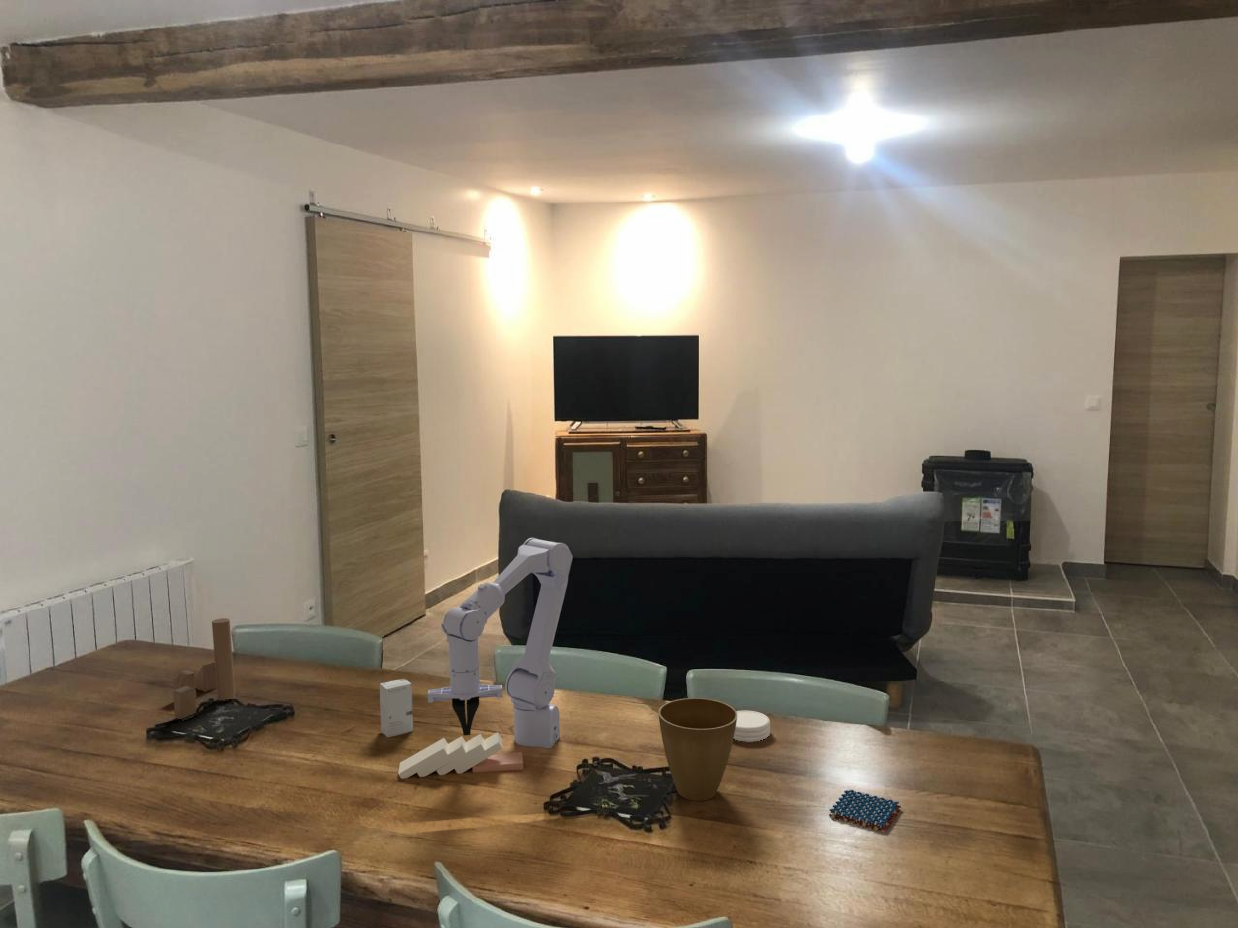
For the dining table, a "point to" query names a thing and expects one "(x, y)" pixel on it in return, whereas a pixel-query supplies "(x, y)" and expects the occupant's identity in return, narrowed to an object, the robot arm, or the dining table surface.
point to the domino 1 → (423, 758)
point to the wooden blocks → (207, 673)
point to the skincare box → (396, 707)
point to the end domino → (500, 762)
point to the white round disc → (751, 726)
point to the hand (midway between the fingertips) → (466, 733)
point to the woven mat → (865, 810)
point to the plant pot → (697, 744)
